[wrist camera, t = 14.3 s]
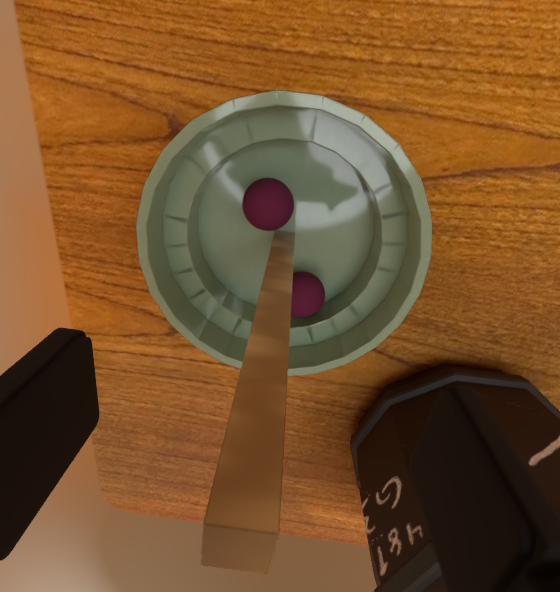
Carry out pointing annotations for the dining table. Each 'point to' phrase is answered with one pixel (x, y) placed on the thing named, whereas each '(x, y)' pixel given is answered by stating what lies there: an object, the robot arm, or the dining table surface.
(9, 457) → the robot arm
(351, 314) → the bowl
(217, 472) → the stick
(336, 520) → the dining table surface
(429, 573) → the wooden barrel
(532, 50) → the dining table surface
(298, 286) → the ball
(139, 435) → the dining table surface
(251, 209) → the ball
